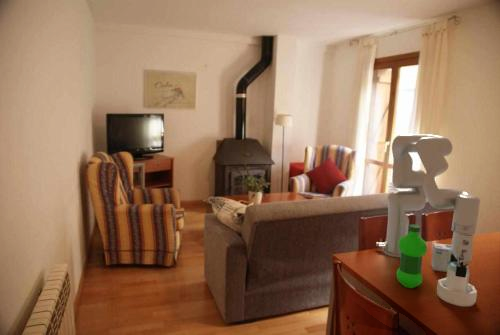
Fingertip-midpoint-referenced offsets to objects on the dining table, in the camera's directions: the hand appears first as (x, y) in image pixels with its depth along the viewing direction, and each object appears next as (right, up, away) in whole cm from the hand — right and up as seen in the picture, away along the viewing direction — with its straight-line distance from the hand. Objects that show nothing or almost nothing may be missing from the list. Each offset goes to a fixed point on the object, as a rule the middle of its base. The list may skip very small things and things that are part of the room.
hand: (457, 270), depth 129 cm
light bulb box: (+10, -7, +25) cm, 28 cm away
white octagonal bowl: (0, -11, +1) cm, 11 cm away
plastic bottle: (-14, -9, +10) cm, 19 cm away
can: (0, -10, +1) cm, 10 cm away
